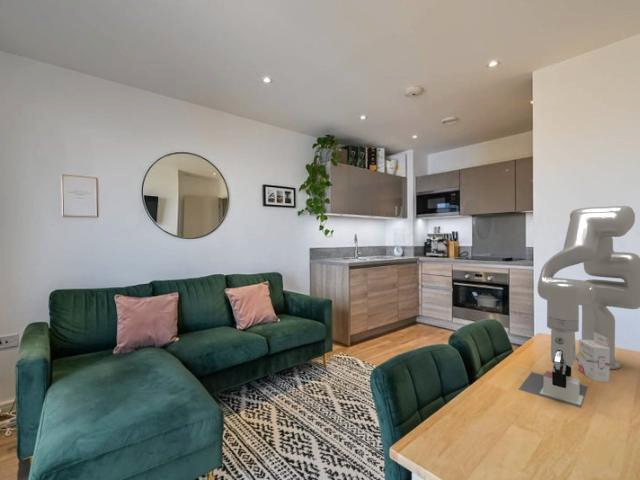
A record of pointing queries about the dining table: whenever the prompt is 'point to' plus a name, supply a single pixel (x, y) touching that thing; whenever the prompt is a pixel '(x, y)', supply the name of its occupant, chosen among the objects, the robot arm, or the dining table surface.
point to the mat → (535, 386)
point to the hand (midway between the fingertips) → (561, 380)
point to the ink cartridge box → (595, 358)
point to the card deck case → (567, 393)
